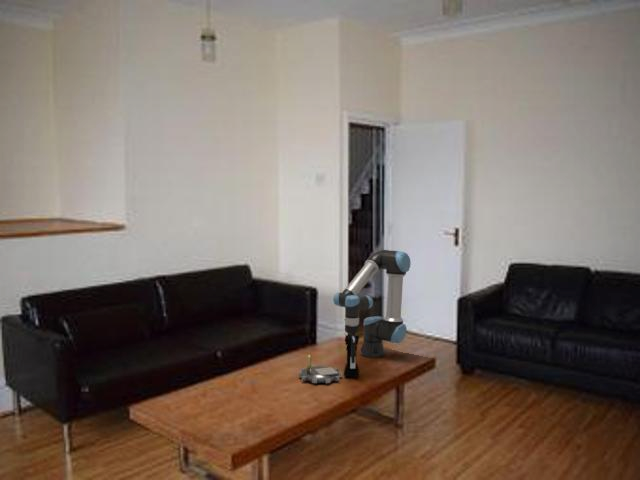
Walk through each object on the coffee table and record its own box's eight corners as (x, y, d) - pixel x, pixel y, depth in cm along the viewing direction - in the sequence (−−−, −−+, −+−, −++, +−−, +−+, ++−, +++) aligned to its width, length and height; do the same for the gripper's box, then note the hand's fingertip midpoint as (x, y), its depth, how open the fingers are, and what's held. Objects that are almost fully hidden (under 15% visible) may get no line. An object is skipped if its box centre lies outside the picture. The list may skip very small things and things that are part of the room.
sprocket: (293, 371, 316) (293, 350, 315) (331, 367, 324) (332, 346, 323) (307, 385, 295) (307, 362, 294) (348, 380, 303) (348, 358, 302)
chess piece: (359, 370, 317) (359, 335, 314) (358, 375, 309) (359, 339, 306) (344, 370, 317) (344, 334, 315) (343, 375, 309) (344, 339, 307)
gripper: (342, 319, 319) (342, 360, 322) (347, 329, 300) (347, 372, 302) (355, 319, 320) (355, 359, 323) (362, 329, 300) (361, 372, 303)
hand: (351, 365), depth 313 cm, fingers closed on chess piece, 7 cm apart
